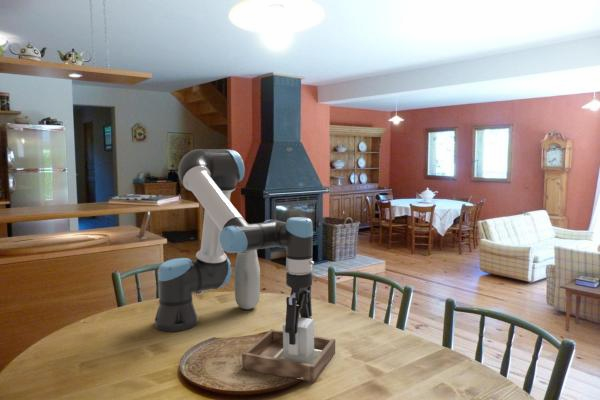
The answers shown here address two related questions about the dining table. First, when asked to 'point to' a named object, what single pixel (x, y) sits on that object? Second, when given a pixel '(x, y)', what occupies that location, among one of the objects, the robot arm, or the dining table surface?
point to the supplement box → (301, 342)
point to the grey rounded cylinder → (247, 279)
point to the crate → (270, 360)
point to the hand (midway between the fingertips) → (298, 348)
